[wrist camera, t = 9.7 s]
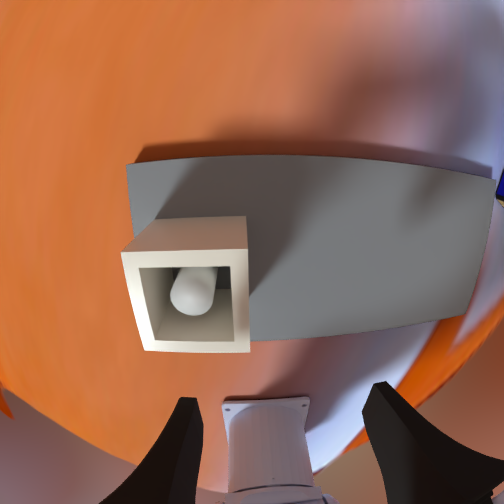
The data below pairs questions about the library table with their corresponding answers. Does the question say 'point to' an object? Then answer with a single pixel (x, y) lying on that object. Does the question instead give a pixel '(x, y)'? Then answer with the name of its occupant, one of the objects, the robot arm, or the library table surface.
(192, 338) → the collar
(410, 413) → the robot arm
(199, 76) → the library table surface
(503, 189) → the puzzle cube
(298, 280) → the base board
